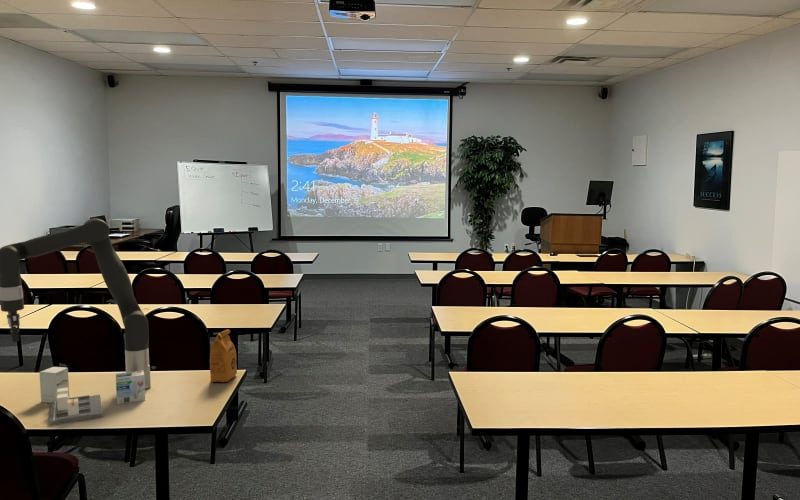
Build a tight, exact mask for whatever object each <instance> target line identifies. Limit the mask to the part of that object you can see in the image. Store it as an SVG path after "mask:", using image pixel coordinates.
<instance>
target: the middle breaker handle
mask: <svg viewBox="0 0 800 500" xmlns="http://www.w3.org/2000/svg"><path fill="white" fill-rule="evenodd" d="M68 398H69V397H68V393H67V394H60V395H57V407H58V411H60V410H67V409H68V405H67V400H68Z"/></svg>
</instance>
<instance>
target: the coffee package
mask: <svg viewBox="0 0 800 500" xmlns="http://www.w3.org/2000/svg"><path fill="white" fill-rule="evenodd" d="M230 333H231V330H230V329H225V330H223V331H221V332H219V333H218V334H217V335H216V337H215V339H214V340H213V342H212V344H211V346H210V352H209V372H210V382H211V383H217V382H218V383H220V382H221V383H224V382H225V383H228V382H229V381H230V380H232V379H233V378H234V377H236V375H237V373H238V369H237V368H238V367H237V351H236V348H235V345H234V343H233V342H232V341H231V338H230V335H229V334H230Z"/></svg>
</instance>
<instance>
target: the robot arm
mask: <svg viewBox="0 0 800 500" xmlns="http://www.w3.org/2000/svg"><path fill="white" fill-rule="evenodd" d="M86 243H89V245H90V248H91V249H92V251H93V253H94V256H95V258H96V261H97V265H98V268H99V271H100V273H101V277H102V278H103V282H104V283H105V285H106V287H107V290H108V292H109V293H110V295H111V297H112V298H113V300H114V301H115V303H116V305H117V307H118V310H119V313H120V315H121V320H122V323H123V328H124V355H125V356H124V357H125V361H124V362H125V373H127V372H135V371H142V370H143V371H144V378H145V390H147V389H150V388H151V387H152V386H151V366H150V354H149V353H150V352H149V350H150V349H149V342H150V341H149V340H150V336H149V334H150V332H149V331H150V330H149V320H148V318H147V316H146V315H145V314H144V312H143V310H142V309H141V307H140V305H139V303H138V302H137V299H136V297H135V294H134V289H133V285H132V282H131V281H132V280H131V279H130V276H129V274H128V271H127V269H126V267H125V264H124V263H123V261H122V259H121V258H120V257H119V255H118V253H117V252H116V250H115V249H114V246H113V244H112V241H111V238H110V226H109V224H108V223H107V222H106V221H104V220H103V219H100V218H96V217H95V218H89V219H88V220H86V221H85V222H84V224H82V225H80V226H77V227H76V228H72V229H69V230H64V231H60V232H56V233H55V232H54V233H50V234H46V235H42V236H38V237H34V238H30V239H28V240H25V241H21V242H16V243H11V244H7V245H3V246H1V247H0V311H1V312H4V313H5V312H6V313H7V314H6V320H7V324H8V327H9V331H10V332H9V333H10V338H12V342H14V343H16V342H20V330H21V328H20V325H21V324H20V319H21V317H20V313H18V311H22V310H23V309H24V308H25V300H24V299H25V298H24V290H23V287H22V286H23V285H22V283H23V282H22V275H21V270H20V268H21V267H20V266H21V265H20V261H22V260H25V259H29V258H37V257H40V256H43V255H47V254H50V253H54V252H56V251H59V250H63V249H65V248H69V247H72V246H73V247H74V246H76V245H80V244H86Z"/></svg>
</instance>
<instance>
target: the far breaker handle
mask: <svg viewBox="0 0 800 500" xmlns="http://www.w3.org/2000/svg"><path fill="white" fill-rule="evenodd" d="M57 393H58V395H60V394H67V393H68V387H67V388H60V389H58V391H57ZM68 400H69V399H68Z"/></svg>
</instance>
